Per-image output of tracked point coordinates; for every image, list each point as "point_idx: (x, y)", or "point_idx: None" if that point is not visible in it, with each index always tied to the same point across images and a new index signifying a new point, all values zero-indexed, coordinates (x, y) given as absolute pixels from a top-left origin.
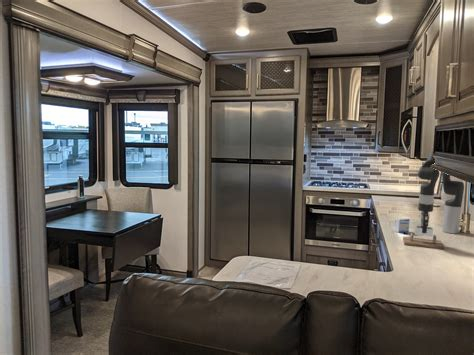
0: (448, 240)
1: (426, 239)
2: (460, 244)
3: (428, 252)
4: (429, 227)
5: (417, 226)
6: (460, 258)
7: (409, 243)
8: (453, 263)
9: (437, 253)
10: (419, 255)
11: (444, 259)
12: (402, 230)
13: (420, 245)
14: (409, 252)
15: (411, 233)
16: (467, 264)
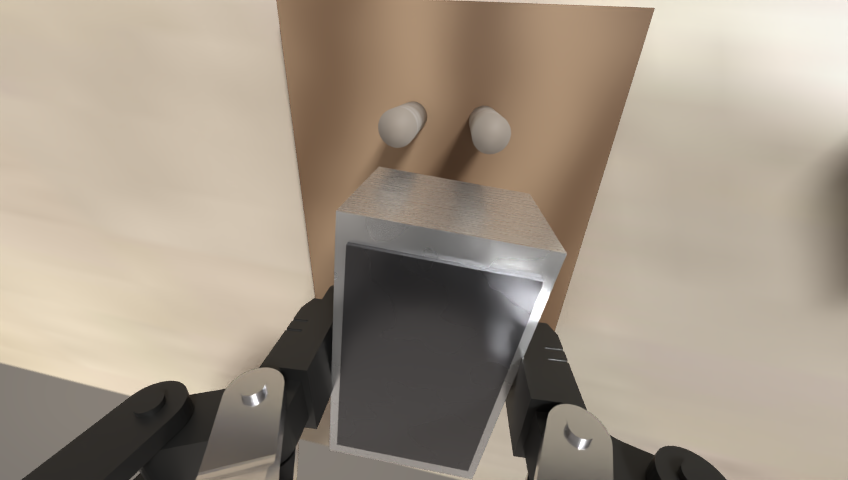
0: (623, 436)
1: (551, 294)
2: (522, 464)
3: (167, 225)
4: (445, 446)
5: (440, 278)
6: (177, 379)
7: (285, 69)
8: (34, 320)
9: (190, 284)
10: (7, 129)
11: (73, 293)
12: None
13: (305, 193)
14: (17, 35)
15: (474, 126)
16: (85, 378)
